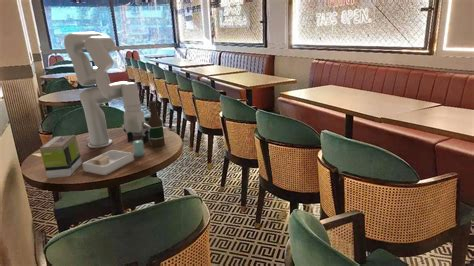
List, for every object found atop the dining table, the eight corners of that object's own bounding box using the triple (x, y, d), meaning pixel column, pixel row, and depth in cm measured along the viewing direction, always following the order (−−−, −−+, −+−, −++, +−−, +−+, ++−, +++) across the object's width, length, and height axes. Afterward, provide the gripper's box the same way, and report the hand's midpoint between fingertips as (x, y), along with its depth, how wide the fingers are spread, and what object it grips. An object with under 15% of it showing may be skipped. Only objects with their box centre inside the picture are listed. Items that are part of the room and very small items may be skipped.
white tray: (83, 171, 149) (82, 163, 148) (112, 157, 164) (111, 149, 163) (106, 175, 144) (104, 166, 142) (133, 160, 159) (132, 152, 158)
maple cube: (93, 169, 149) (91, 159, 147) (102, 165, 153) (100, 155, 152) (102, 171, 147) (100, 160, 145) (110, 166, 151) (108, 156, 150)
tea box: (61, 165, 158) (54, 135, 154) (82, 163, 159) (76, 134, 154) (46, 178, 144) (38, 146, 139) (70, 176, 144) (63, 145, 140)
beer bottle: (161, 147, 175) (156, 103, 167) (148, 147, 176) (142, 103, 169) (167, 142, 182) (162, 99, 175) (154, 142, 183) (148, 100, 176)
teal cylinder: (132, 155, 165) (130, 142, 163) (138, 152, 169) (137, 139, 167) (140, 157, 163) (138, 143, 161) (146, 153, 167) (144, 140, 165)
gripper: (113, 109, 159) (119, 143, 164) (141, 110, 152) (147, 145, 157) (124, 106, 166) (130, 138, 170) (152, 106, 158) (157, 140, 163)
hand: (138, 142), depth 164 cm, fingers open, 9 cm apart
